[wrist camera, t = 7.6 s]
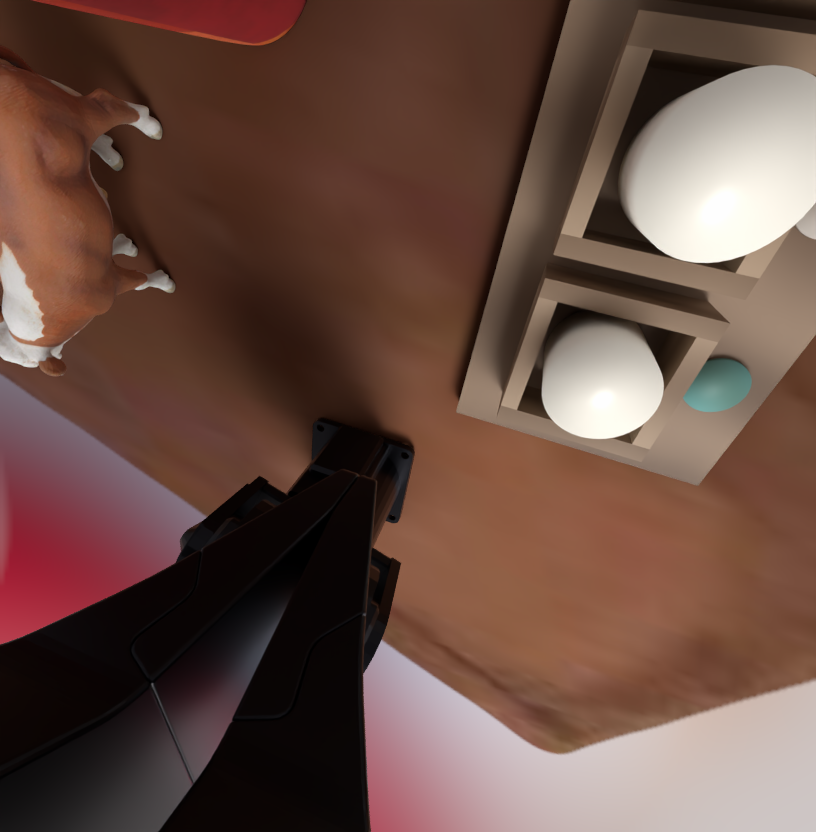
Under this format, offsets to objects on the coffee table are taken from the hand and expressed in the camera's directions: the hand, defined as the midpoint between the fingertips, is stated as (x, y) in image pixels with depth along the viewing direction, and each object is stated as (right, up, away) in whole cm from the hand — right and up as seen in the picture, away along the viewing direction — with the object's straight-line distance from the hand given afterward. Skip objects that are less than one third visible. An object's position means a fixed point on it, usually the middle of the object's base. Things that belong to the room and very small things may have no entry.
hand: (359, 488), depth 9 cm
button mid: (+10, +9, +3) cm, 14 cm away
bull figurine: (-13, +12, +13) cm, 22 cm away
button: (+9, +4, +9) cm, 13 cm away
